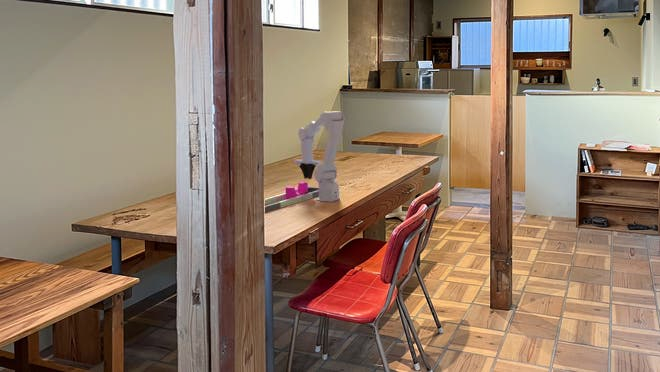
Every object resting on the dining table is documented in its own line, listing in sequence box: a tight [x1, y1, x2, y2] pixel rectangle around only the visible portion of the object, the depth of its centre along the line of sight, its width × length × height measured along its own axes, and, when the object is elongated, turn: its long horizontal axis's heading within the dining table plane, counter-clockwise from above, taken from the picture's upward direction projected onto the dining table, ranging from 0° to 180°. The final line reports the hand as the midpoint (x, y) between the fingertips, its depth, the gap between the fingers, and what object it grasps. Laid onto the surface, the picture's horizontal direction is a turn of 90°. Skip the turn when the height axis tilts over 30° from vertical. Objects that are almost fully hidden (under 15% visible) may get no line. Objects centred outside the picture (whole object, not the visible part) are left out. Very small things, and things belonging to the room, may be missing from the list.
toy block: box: [285, 181, 309, 200], centre depth 341 cm, size 15×6×8 cm, turn 152°
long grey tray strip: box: [264, 186, 319, 213], centre depth 338 cm, size 12×50×2 cm, turn 146°
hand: (308, 178), depth 350 cm, fingers closed
